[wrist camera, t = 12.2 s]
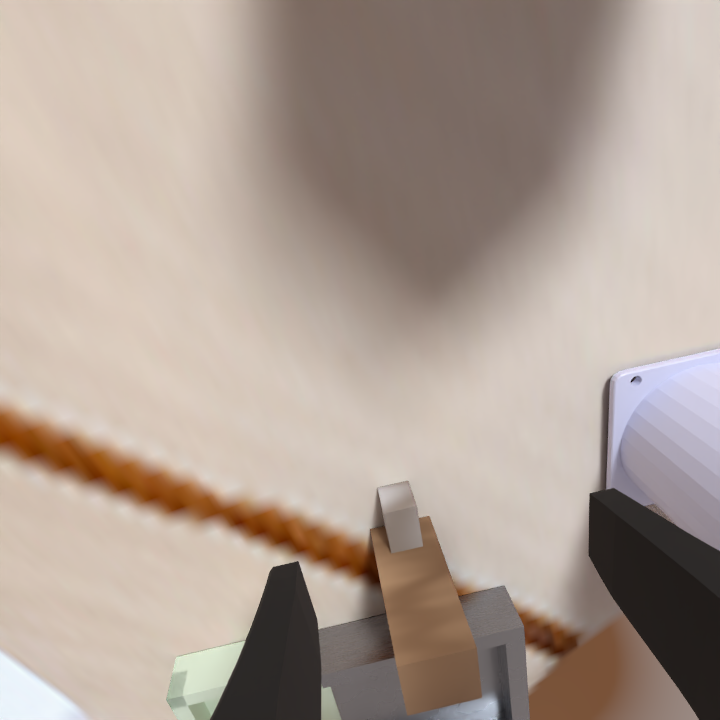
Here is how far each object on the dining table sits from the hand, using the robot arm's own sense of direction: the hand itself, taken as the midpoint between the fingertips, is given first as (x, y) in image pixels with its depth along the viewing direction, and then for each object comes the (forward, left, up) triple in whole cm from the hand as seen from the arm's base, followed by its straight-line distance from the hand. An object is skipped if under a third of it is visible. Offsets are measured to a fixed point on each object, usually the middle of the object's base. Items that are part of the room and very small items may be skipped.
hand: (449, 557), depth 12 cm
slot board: (+1, +20, -10) cm, 22 cm away
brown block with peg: (+1, +10, -10) cm, 14 cm away
